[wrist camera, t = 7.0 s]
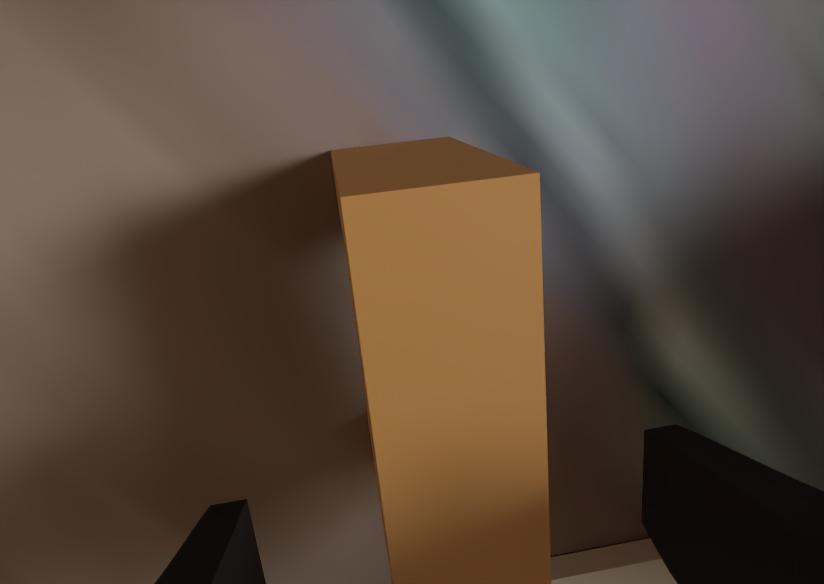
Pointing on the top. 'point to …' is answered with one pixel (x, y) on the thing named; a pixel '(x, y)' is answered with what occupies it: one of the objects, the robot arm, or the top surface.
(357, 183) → the block
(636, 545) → the stand
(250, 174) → the top surface
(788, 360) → the top surface
